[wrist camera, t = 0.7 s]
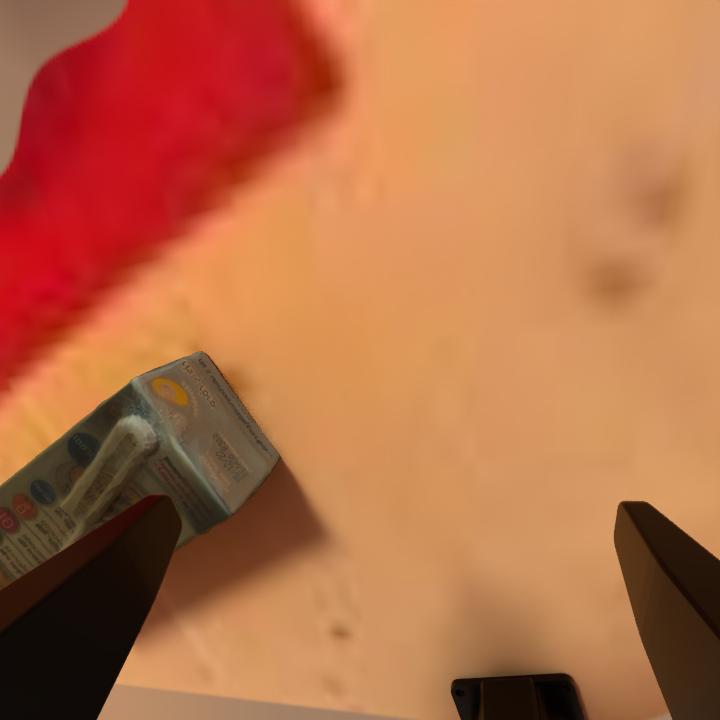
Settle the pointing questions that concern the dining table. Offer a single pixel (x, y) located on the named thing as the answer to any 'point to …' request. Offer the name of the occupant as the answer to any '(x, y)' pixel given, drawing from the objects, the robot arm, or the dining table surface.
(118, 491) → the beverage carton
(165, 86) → the dining table surface
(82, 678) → the robot arm
